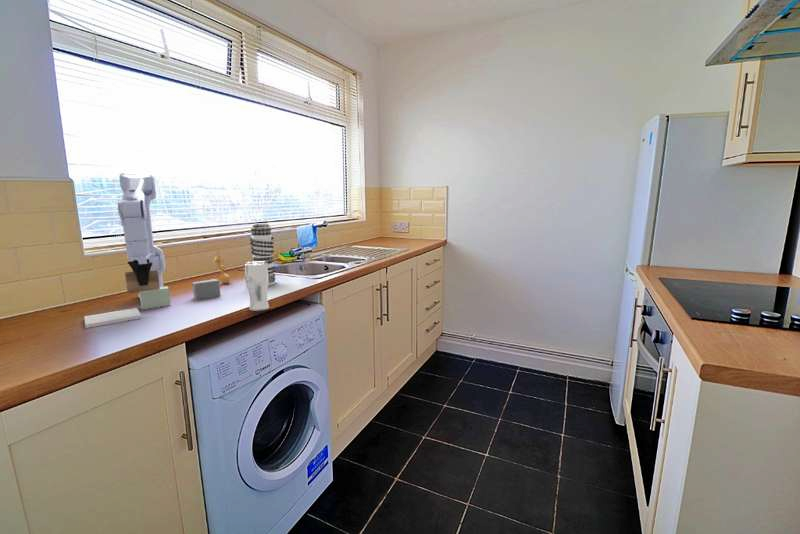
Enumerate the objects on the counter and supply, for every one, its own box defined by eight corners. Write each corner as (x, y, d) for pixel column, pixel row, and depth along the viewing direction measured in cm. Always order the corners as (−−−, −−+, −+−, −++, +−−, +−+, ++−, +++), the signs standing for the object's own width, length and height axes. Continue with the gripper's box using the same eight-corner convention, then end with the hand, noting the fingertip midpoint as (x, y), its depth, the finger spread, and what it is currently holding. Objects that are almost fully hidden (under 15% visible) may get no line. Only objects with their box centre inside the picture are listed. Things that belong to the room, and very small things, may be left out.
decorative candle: (261, 280, 163) (256, 222, 158) (280, 281, 161) (276, 222, 156) (248, 285, 154) (243, 224, 149) (269, 286, 152) (264, 224, 148)
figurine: (225, 285, 154) (222, 256, 152) (211, 285, 154) (208, 256, 152) (235, 281, 162) (232, 253, 160) (222, 281, 162) (219, 253, 160)
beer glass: (264, 304, 127) (261, 260, 125) (274, 308, 122) (271, 263, 120) (244, 308, 123) (240, 263, 120) (253, 313, 118) (249, 266, 115)
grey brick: (194, 298, 136) (192, 282, 135) (217, 294, 141) (216, 278, 140) (196, 300, 133) (194, 283, 132) (220, 296, 138) (218, 280, 137)
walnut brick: (127, 291, 116) (124, 272, 114) (157, 287, 121) (155, 268, 120) (128, 293, 113) (126, 274, 112) (159, 289, 118) (157, 270, 117)
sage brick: (141, 307, 125) (138, 290, 124) (169, 303, 130) (166, 286, 129) (142, 310, 122) (140, 292, 121) (170, 305, 127) (168, 288, 126)
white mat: (84, 319, 113) (84, 316, 113) (137, 310, 121) (136, 307, 121) (85, 328, 105) (85, 324, 105) (141, 318, 114) (140, 315, 113)
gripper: (156, 241, 111) (162, 286, 114) (148, 237, 122) (153, 278, 124) (127, 243, 107) (133, 290, 109) (121, 239, 117) (127, 281, 120)
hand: (142, 284), depth 116 cm, fingers closed on walnut brick, 3 cm apart
